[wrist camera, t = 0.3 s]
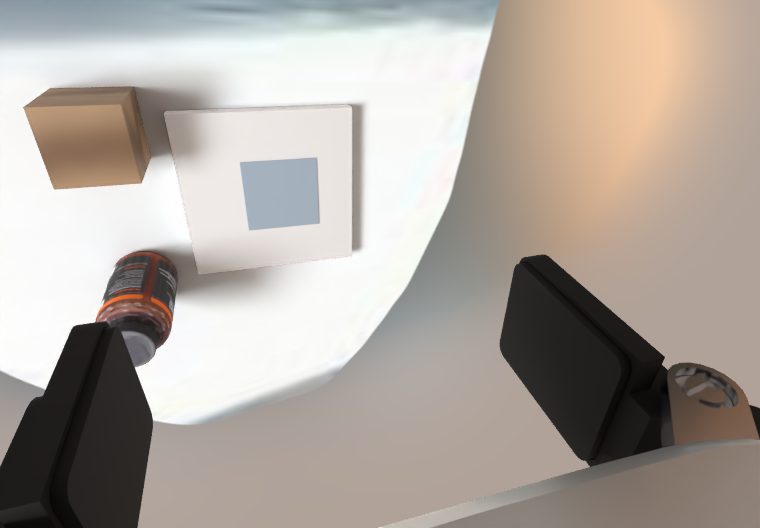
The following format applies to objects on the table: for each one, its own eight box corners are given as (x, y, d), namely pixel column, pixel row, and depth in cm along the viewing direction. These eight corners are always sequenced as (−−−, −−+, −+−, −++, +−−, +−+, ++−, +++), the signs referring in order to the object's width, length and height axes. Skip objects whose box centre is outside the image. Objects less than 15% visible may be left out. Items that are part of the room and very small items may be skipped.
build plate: (165, 110, 39) (163, 114, 38) (349, 104, 43) (352, 107, 42) (198, 268, 48) (198, 275, 47) (349, 250, 52) (352, 256, 51)
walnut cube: (49, 88, 36) (23, 107, 31) (133, 86, 38) (120, 104, 33) (74, 161, 39) (54, 189, 34) (150, 157, 41) (141, 183, 36)
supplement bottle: (98, 272, 45) (66, 351, 36) (145, 237, 44) (125, 308, 35) (147, 308, 48) (129, 387, 39) (191, 276, 48) (184, 349, 39)
